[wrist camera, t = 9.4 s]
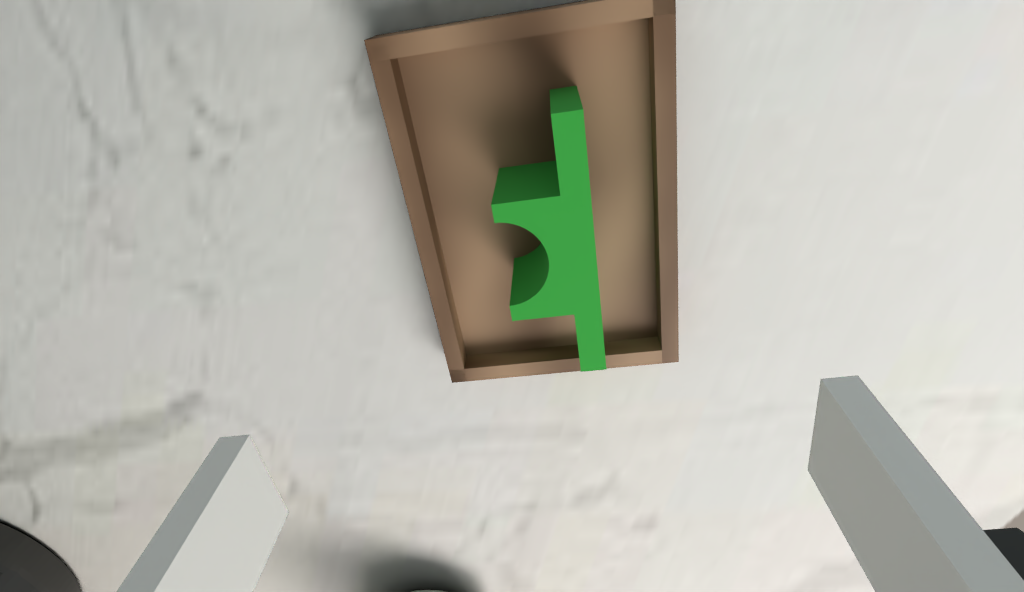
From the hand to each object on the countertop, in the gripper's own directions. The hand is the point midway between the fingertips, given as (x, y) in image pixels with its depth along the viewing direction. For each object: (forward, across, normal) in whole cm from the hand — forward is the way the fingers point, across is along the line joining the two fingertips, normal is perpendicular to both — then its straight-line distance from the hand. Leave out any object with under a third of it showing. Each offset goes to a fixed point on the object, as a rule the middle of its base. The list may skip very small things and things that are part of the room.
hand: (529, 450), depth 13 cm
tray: (+15, +1, 0) cm, 15 cm away
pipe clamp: (+15, +1, 0) cm, 15 cm away
